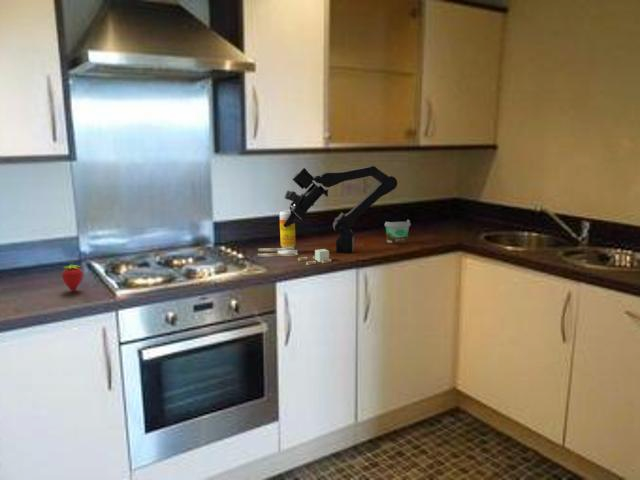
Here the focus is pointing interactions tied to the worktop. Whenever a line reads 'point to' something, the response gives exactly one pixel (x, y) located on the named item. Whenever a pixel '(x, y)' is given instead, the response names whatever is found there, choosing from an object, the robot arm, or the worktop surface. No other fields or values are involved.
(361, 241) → the worktop surface
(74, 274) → the strawberry
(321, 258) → the sage cube
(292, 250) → the mat
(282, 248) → the lane
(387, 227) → the food container
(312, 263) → the broken lane
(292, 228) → the yellow tall cylinder
